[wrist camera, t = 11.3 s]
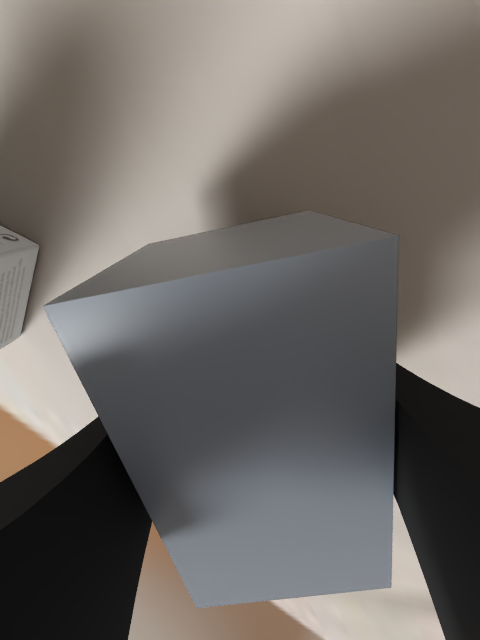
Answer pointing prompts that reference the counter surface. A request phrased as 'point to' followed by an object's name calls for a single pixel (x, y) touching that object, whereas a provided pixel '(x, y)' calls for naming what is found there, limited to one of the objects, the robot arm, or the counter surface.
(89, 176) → the counter surface
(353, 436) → the tall gray prism
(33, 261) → the skincare box
